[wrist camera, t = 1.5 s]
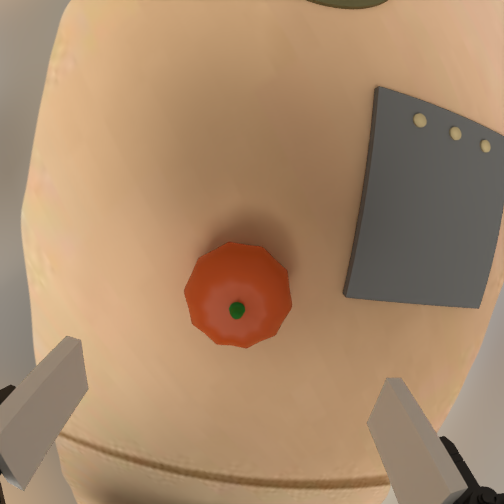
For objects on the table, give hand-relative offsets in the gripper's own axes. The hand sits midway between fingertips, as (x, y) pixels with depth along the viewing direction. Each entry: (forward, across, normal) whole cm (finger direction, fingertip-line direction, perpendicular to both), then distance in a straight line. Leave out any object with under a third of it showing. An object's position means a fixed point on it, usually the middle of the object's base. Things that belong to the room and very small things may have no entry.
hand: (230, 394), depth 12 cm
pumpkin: (+15, 0, 0) cm, 15 cm away
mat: (+15, -17, -9) cm, 24 cm away
